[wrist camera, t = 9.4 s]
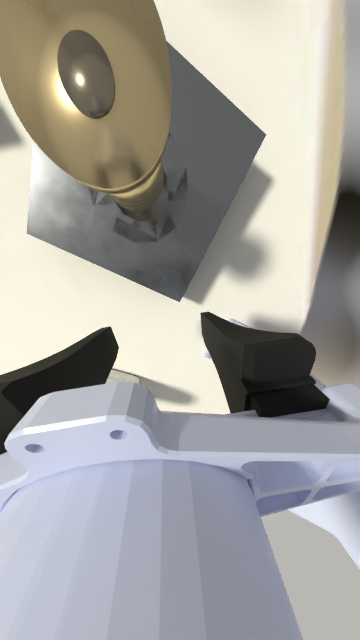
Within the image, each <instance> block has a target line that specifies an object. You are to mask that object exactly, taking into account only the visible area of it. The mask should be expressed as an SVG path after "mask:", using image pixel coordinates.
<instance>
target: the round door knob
mask: <svg viewBox="0 0 360 640" xmlns="http://www.w3.org/2000/svg"><path fill="white" fill-rule="evenodd" d="M0 77H1V80H2V83H3V86H4V88H5V90H6V93H7V95H8V98H9V100H10V102H11V104H12V106H13V108H14V110H15V112H16V114H17V116H18V117H19V119H20V121H21V122H22V124H23V126H24V127H25V129H26V131H27V132H28V133H29V135H30V136H31V138H32V139H33V140H34V142H35V143H36V144H37V145H38V147H39V148H40V149H41V150H42V151H43V152H44V154H45V155H46V156H47V157H48V158H49V159H51V160H52V161H53V162H54V163H55V164H56V165H57V166H58V167H60V168H61V169H62V170H63V171H65V172H66V173H67V174H69V175H70V176H71V177H73V178H74V179H76V180H77V181H79V182H80V183H82V184H83V185H85V186H87V187H89V188H91V189H93V190H96V191H99V192H103V193H106V194H108V195H109V196H110V197H111V198H112V199H113V200H114V201H116V202H117V203H118V204H119V205H120V206H122V207H123V208H126V209H128V210H131V211H143V210H146V209H148V208H150V207H151V206H152V205H154V204H155V202H156V201H157V200H158V198H159V196H160V194H161V191H162V187H163V179H164V176H163V155H164V152H165V149H166V146H167V142H168V137H169V132H170V123H171V102H172V79H171V68H170V59H169V54H168V48H167V43H166V39H165V35H164V31H163V27H162V23H161V20H160V17H159V14H158V12H157V9H156V6H155V3H154V1H153V0H0Z"/></svg>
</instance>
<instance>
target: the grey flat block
mask: <svg viewBox="0 0 360 640" xmlns="http://www.w3.org/2000/svg"><path fill="white" fill-rule="evenodd" d="M166 43H167V48H168V54H169V59H170V68H171V79H172V102H171V123H170V132H169V137H168V142H167V146H166V149H165V152H164V155H163V176H164V179H163V187H162V191H161V194H160V196H159V198H158V200H157V201H156V202H155V204H154V205H152V206H151V207H150V208H148V209H146V210H143V211H131V210H128V209H126V208H123V207H122V206H120V205H119V204H118V203H117V202H116V201H114V200H113V199H112V198H111V197H110V196H109V195H108V194H106V193H103V192H99V191H96V190H93V189H91V188H89V187H87V186H85V185H83V184H82V183H80V182H79V181H77V180H76V179H74V178H73V177H71V176H70V175H69V174H67V173H66V172H65V171H63V170H62V169H61V168H60V167H58V166H57V165H56V164H55V163H54V162H53V161H52V160H51V159H49V158H48V157H47V156H46V155H45V154H44V152H43V151H42V150H41V149H40V148H39V147H38V145H37V144H36V143H35V142H34V140H33V151H32V165H31V180H30V194H29V209H28V223H27V234H29V235H32V236H34V237H36V238H38V239H41V240H43V241H45V242H47V243H49V244H52V245H54V246H56V247H58V248H61V249H63V250H65V251H67V252H69V253H72V254H74V255H76V256H78V257H81V258H83V259H85V260H87V261H89V262H92V263H94V264H96V265H98V266H101V267H103V268H105V269H107V270H109V271H112V272H114V273H116V274H118V275H121V276H123V277H125V278H127V279H130V280H132V281H134V282H136V283H138V284H141V285H143V286H145V287H147V288H150V289H152V290H154V291H156V292H158V293H161V294H163V295H165V296H167V297H170V298H172V299H174V300H176V301H178V302H180V300H181V299H182V297H183V295H184V293H185V291H186V289H187V287H188V285H189V283H190V281H191V279H192V277H193V275H194V273H195V271H196V270H197V268H198V266H199V264H200V262H201V260H202V258H203V256H204V254H205V252H206V250H207V248H208V246H209V244H210V242H211V240H212V239H213V237H214V235H215V233H216V231H217V229H218V227H219V225H220V223H221V221H222V219H223V217H224V215H225V213H226V211H227V210H228V208H229V206H230V204H231V202H232V200H233V198H234V196H235V194H236V192H237V190H238V188H239V186H240V184H241V182H242V180H243V179H244V177H245V175H246V173H247V171H248V169H249V167H250V165H251V163H252V161H253V159H254V157H255V155H256V153H257V151H258V150H259V148H260V146H261V144H262V142H263V140H264V138H265V136H266V134H265V133H264V132H263V131H262V130H261V129H260V128H259V127H258V126H256V125H255V124H254V123H253V122H252V121H251V120H250V119H249V118H248V117H247V116H246V115H245V114H244V113H243V112H242V111H240V110H239V109H238V108H237V107H236V106H235V105H234V104H233V103H232V102H231V101H230V100H229V99H228V98H227V97H226V96H225V95H223V94H222V93H221V92H220V91H219V90H218V89H217V88H216V87H215V86H214V85H213V84H212V83H211V82H210V81H209V80H207V79H206V78H205V77H204V76H203V75H202V74H201V73H200V72H199V71H198V70H197V69H196V68H195V67H194V66H193V65H191V64H190V63H189V62H188V61H187V60H186V59H185V58H184V57H183V56H182V55H181V54H180V53H179V52H178V51H177V50H175V49H174V48H173V47H172V46H171V45H170V44H169V43H168V42H167V41H166Z"/></svg>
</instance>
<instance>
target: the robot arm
mask: <svg viewBox="0 0 360 640" xmlns="http://www.w3.org/2000/svg"><path fill="white" fill-rule="evenodd" d="M201 325H202V336H203V339H204V342H205V345H206V347H207V349H208V350H207V351H206V353H205V357H207V358H209V359H212V360H213V362H214V364H215V367H216V369H217V372H218V375H219V378H220V381H221V384H222V387H223V390H224V393H225V396H226V399H227V403H228V406H229V409H230V412H231V413H230V414H226V415H219V414H203V413H186V412H170V411H160V410H159V409H158V407H157V404H156V401H155V398H154V396H153V395H152V393H151V392H150V391H149V390H148V388H146V387H144V386H142V385H140V384H137V383H135V382H115V383H108V384H105V383H106V381H107V379H108V376H109V374H110V372H111V369H112V367H113V365H114V362H115V360H116V357H117V353H118V349H119V347H118V344H117V341H116V339H115V336H114V334H113V331H112V329H111V327H105V328H101V329H99V330H97V331H95V332H94V333H92V334H90V335H88V336H87V337H85V338H83V339H82V340H80V341H78V342H77V343H75V344H73V345H71V346H69V347H68V348H66V349H64V350H62V351H60V352H58V353H56V354H54V355H52V356H50V357H47V358H45V359H43V360H40V361H38V362H36V363H33V364H31V365H28V366H26V367H23V368H20V369H17V370H15V371H12V372H9V373H6V374H3V375H0V640H303V638H302V635H301V632H300V629H299V626H298V624H297V621H296V618H295V615H294V612H293V609H292V606H291V603H290V601H289V597H288V595H287V592H286V589H285V586H284V583H283V580H282V578H281V574H280V572H279V569H278V566H277V563H276V560H275V557H274V554H273V551H272V549H271V545H270V543H269V540H268V537H267V534H266V531H265V528H264V525H263V522H262V520H261V517H262V516H266V515H270V514H273V513H277V512H281V511H284V510H289V511H290V512H292V513H294V514H296V515H298V516H299V517H302V518H303V519H305V520H308V521H309V522H311V523H313V524H315V525H317V526H319V527H321V528H323V529H325V530H326V531H328V532H330V533H332V534H333V535H334V536H336V537H337V538H338V540H339V541H340V542H341V544H342V545H343V547H344V548H345V550H346V551H347V552H348V554H349V555H350V556H351V558H352V559H353V561H354V562H355V564H356V565H357V566H358V568H359V569H360V389H359V388H358V387H357V386H355V385H354V384H353V383H347V384H341V385H334V386H329V387H326V386H325V385H323V384H322V383H321V382H320V381H319V380H318V379H317V378H315V377H314V376H313V375H312V374H311V373H310V372H311V369H312V367H313V364H314V361H315V356H316V350H315V347H314V346H313V344H312V343H310V342H309V341H307V340H305V339H304V338H303V337H301V336H300V335H299V334H296V333H278V332H269V331H262V330H256V329H252V328H250V327H247V326H245V325H243V324H241V323H239V322H237V321H234V320H232V319H229V320H228V321H227V320H224V319H222V318H220V317H218V316H216V315H214V314H212V313H210V312H203V313H201Z"/></svg>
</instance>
